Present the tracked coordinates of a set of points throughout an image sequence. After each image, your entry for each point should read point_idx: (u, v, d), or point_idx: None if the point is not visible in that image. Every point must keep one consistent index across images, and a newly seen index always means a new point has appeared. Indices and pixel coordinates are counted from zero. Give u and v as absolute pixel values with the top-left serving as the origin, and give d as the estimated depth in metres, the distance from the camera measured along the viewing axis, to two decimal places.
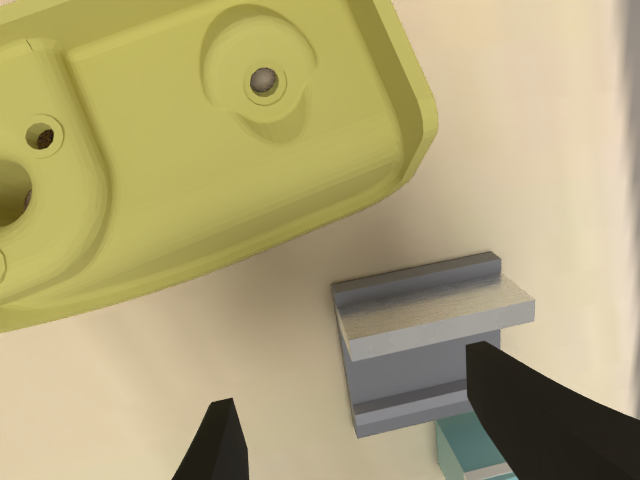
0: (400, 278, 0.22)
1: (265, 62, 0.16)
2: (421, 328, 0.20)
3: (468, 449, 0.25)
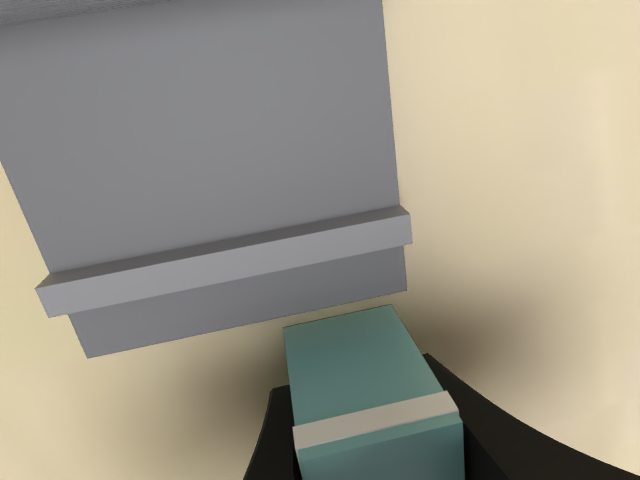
0: None
1: None
2: None
3: (324, 378, 0.11)
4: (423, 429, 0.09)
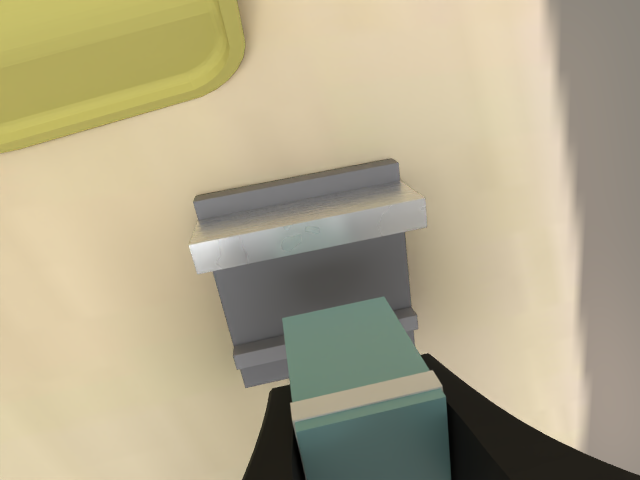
0: (275, 185, 0.19)
1: None
2: (282, 232, 0.16)
3: (320, 361, 0.12)
4: (410, 403, 0.10)
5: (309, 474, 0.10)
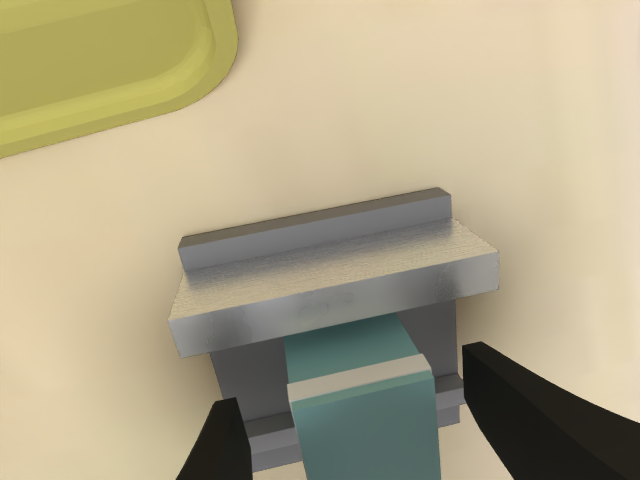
0: (287, 225, 0.14)
1: None
2: (300, 300, 0.11)
3: (315, 346, 0.12)
4: (400, 384, 0.10)
5: (305, 451, 0.11)
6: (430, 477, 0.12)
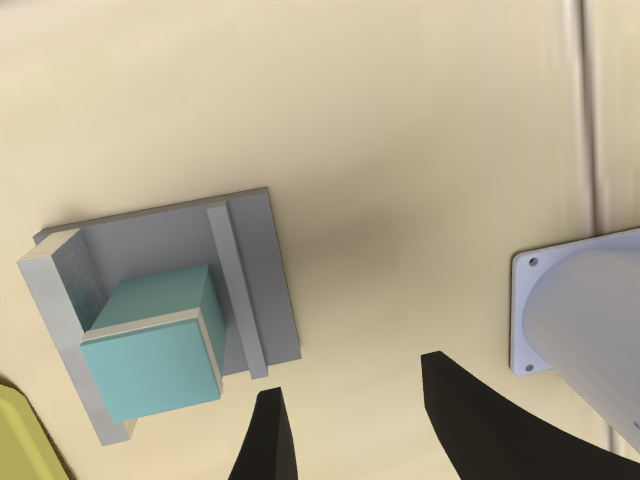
0: None
1: None
2: (79, 383, 0.17)
3: None
4: (90, 363, 0.15)
5: (147, 413, 0.16)
6: (178, 333, 0.15)
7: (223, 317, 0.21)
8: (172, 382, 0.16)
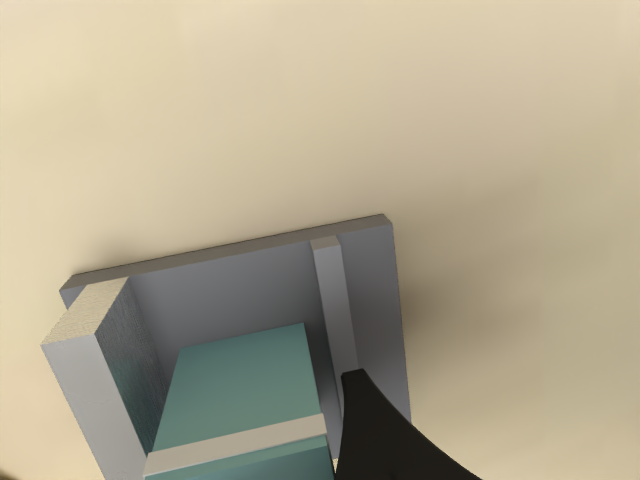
0: None
1: None
2: None
3: None
4: None
5: None
6: (297, 463, 0.09)
7: None
8: None
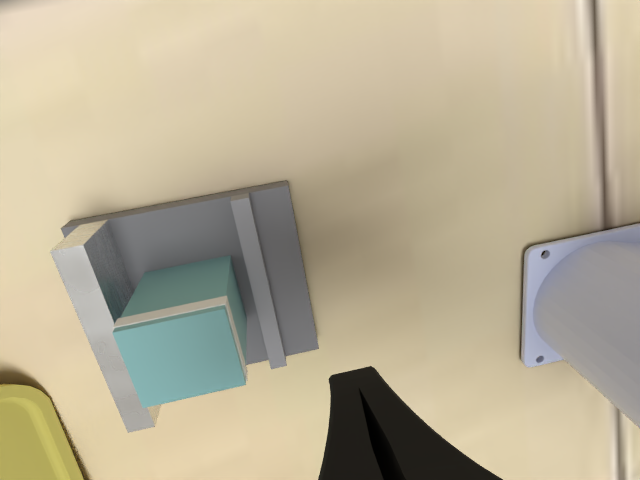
0: None
1: None
2: (107, 370, 0.18)
3: None
4: (122, 349, 0.16)
5: (176, 399, 0.17)
6: (207, 320, 0.16)
7: (243, 308, 0.21)
8: (200, 368, 0.16)
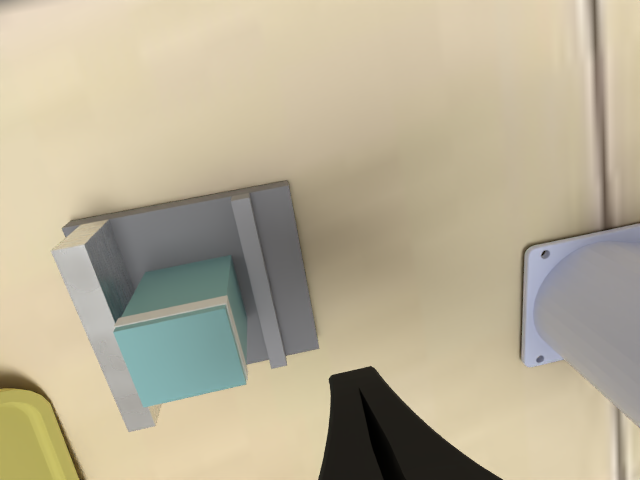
0: None
1: None
2: (107, 369, 0.18)
3: None
4: (123, 349, 0.16)
5: (176, 398, 0.17)
6: (207, 319, 0.16)
7: (244, 307, 0.21)
8: (201, 367, 0.16)
